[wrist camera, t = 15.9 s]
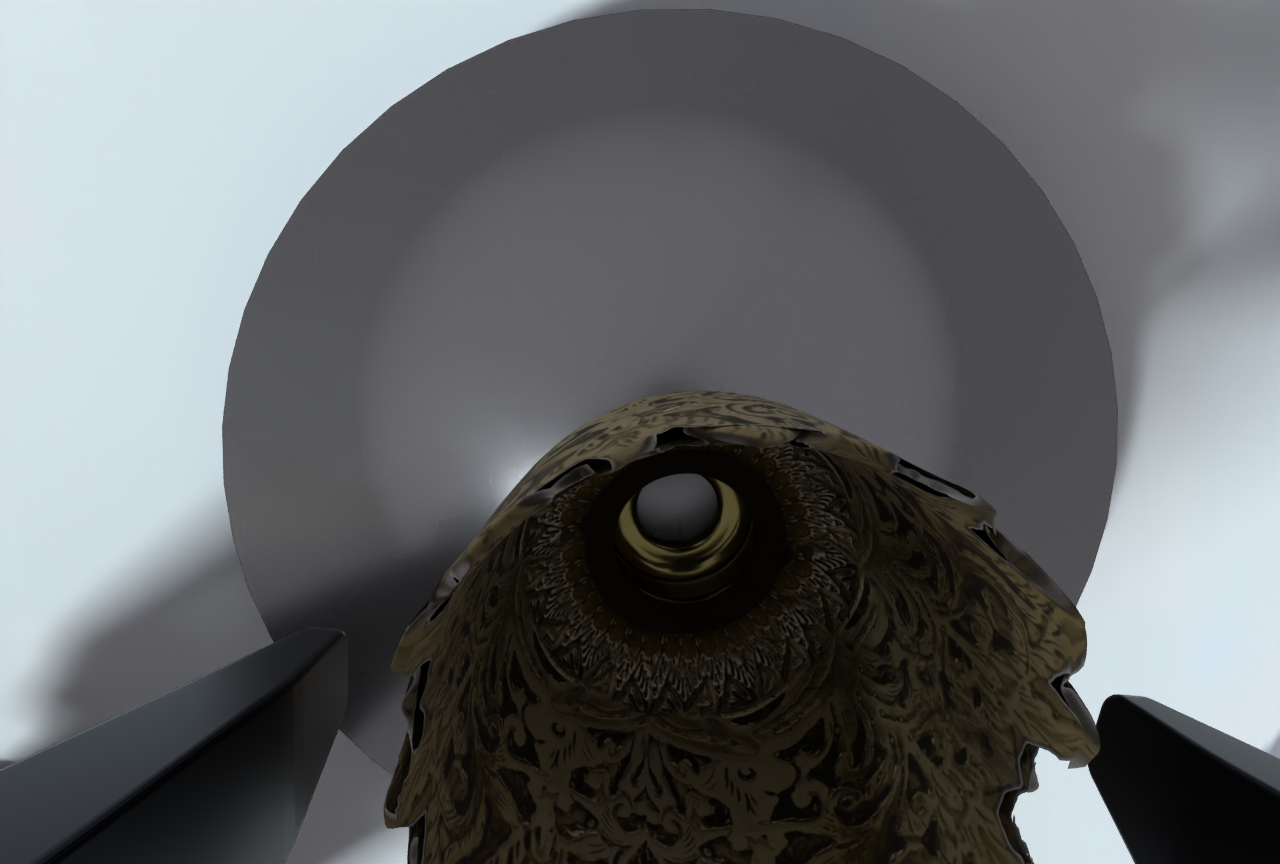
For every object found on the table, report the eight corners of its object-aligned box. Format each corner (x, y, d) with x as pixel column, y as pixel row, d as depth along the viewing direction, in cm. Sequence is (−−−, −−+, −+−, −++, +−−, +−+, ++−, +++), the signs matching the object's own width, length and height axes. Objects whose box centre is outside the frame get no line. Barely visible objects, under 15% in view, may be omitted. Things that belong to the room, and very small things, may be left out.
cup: (530, 283, 14) (433, 356, 6) (904, 366, 15) (1226, 524, 7) (466, 634, 16) (330, 1021, 8) (800, 693, 17) (964, 1100, 9)
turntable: (105, 605, 17) (-72, 736, 12) (526, -205, 13) (480, -417, 9) (769, 939, 20) (810, 1137, 15) (1267, 362, 16) (1505, 413, 12)
